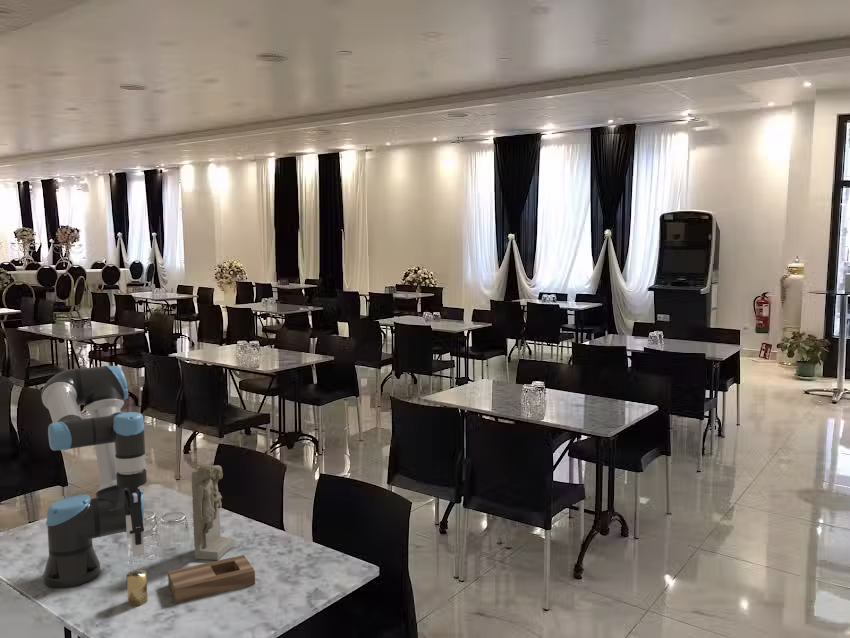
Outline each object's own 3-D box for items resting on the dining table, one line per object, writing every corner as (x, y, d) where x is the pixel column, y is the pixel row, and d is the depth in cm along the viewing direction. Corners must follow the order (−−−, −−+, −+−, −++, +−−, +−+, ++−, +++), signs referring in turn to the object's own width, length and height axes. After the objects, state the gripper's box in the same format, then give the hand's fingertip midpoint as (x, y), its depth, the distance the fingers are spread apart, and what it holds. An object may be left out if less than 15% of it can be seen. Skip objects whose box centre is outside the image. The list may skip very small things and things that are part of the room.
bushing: (127, 599, 194) (125, 572, 194) (146, 595, 197) (144, 568, 196) (129, 608, 190) (127, 579, 189) (148, 603, 192) (147, 575, 192)
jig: (168, 584, 203) (167, 571, 203) (244, 567, 214) (243, 554, 213) (175, 602, 193) (175, 589, 192) (255, 583, 203) (254, 570, 203)
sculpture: (213, 564, 216) (209, 469, 213) (189, 562, 217) (185, 468, 214) (235, 544, 230) (232, 455, 227) (213, 542, 232) (209, 454, 229)
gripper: (152, 481, 181) (156, 560, 183) (139, 456, 202) (143, 527, 204) (121, 486, 177) (125, 566, 179) (111, 460, 199) (115, 532, 201)
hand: (135, 545), depth 192 cm, fingers open, 13 cm apart
